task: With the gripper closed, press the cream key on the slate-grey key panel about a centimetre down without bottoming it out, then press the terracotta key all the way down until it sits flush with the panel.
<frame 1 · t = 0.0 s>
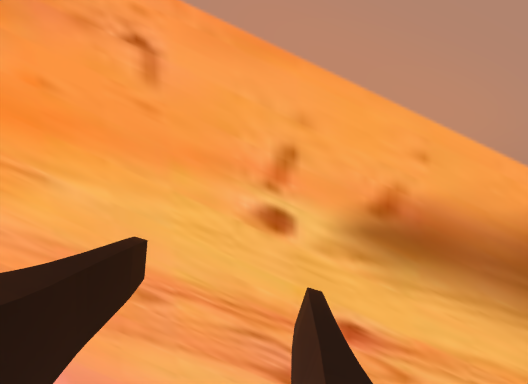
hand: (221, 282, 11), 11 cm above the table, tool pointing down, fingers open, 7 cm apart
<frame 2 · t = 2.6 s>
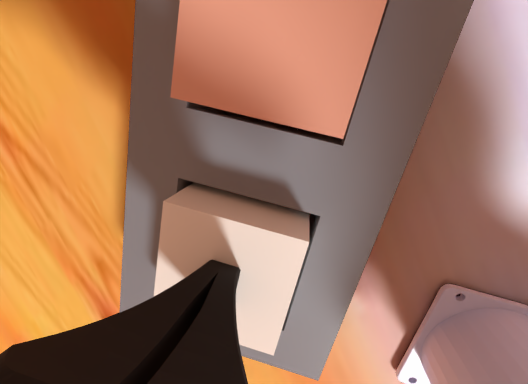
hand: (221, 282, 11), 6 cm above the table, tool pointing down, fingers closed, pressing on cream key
key panel: (268, 150, 15), on the table
terracotta key: (280, 30, 9), point 5 cm above the table, slide at 0.0 cm
cream key: (231, 264, 13), point 4 cm above the table, slide at 0.3 cm, touching gripper
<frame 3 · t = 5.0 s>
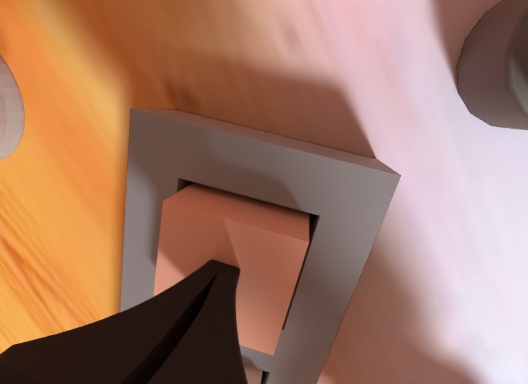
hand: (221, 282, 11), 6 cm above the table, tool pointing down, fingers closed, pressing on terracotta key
key panel: (236, 288, 18), on the table
candle holder: (527, 61, 12), on the table
glass holder: (5, 114, 18), on the table
terracotta key: (231, 264, 13), point 5 cm above the table, slide at 0.2 cm, touching gripper
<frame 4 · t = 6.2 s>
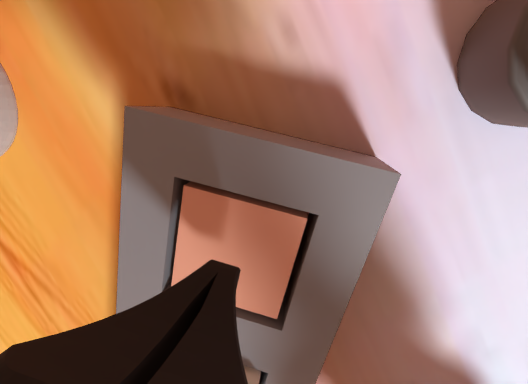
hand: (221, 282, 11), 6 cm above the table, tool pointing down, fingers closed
key panel: (234, 287, 18), on the table
terracotta key: (240, 241, 14), point 2 cm above the table, slide at 2.4 cm
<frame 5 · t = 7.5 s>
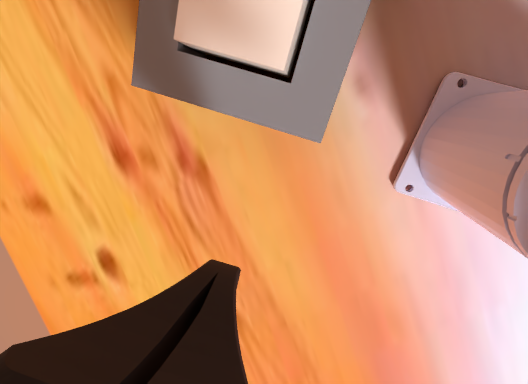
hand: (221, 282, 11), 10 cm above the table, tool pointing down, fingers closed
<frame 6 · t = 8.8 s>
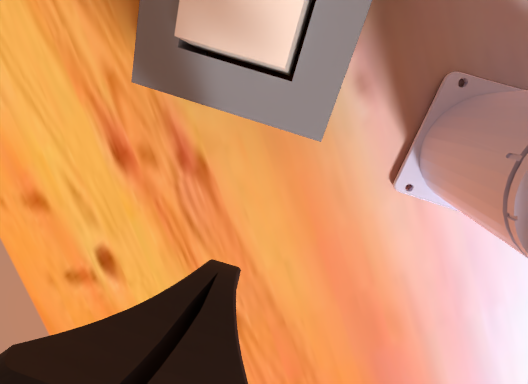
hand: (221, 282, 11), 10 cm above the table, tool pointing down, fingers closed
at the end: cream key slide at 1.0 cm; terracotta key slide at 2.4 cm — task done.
